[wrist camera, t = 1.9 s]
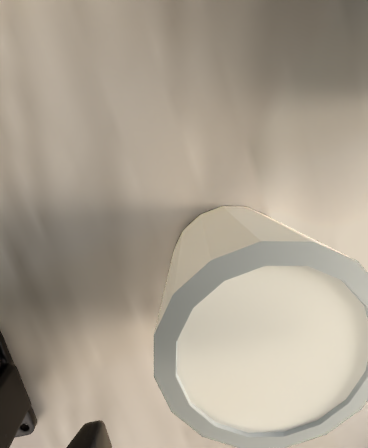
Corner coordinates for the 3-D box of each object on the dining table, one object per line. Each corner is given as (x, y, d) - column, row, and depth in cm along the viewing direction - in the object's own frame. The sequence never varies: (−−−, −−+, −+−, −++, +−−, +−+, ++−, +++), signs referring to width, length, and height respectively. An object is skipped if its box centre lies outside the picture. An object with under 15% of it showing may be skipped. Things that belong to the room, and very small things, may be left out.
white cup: (328, 244, 16) (449, 327, 9) (242, 346, 17) (290, 486, 10) (215, 161, 14) (256, 186, 8) (131, 279, 16) (103, 388, 9)
